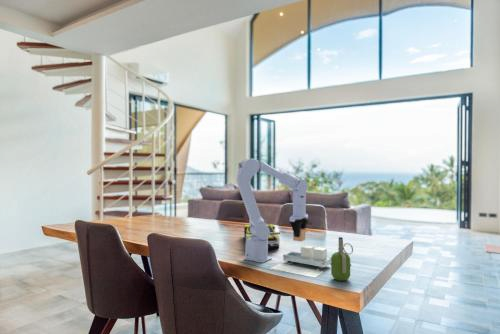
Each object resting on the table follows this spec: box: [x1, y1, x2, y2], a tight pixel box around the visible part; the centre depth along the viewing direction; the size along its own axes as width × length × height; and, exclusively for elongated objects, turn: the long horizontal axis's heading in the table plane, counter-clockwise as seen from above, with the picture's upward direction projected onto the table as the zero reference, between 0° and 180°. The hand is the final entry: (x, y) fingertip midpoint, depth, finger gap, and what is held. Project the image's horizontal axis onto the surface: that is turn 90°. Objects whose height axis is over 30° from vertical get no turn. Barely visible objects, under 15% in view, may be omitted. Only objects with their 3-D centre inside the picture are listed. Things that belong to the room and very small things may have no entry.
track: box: [270, 261, 324, 279], centre depth 129 cm, size 19×18×1 cm
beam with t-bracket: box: [282, 251, 331, 270], centre depth 135 cm, size 18×14×3 cm
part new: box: [292, 228, 306, 242], centre depth 146 cm, size 4×4×5 cm
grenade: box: [329, 236, 354, 282], centre depth 114 cm, size 7×8×15 cm
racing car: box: [243, 223, 281, 251], centre depth 172 cm, size 17×39×12 cm, turn 2°
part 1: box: [300, 244, 315, 259], centre depth 133 cm, size 4×4×5 cm
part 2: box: [313, 246, 328, 261], centre depth 129 cm, size 4×4×5 cm
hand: (299, 235), depth 146 cm, fingers closed on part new, 4 cm apart
